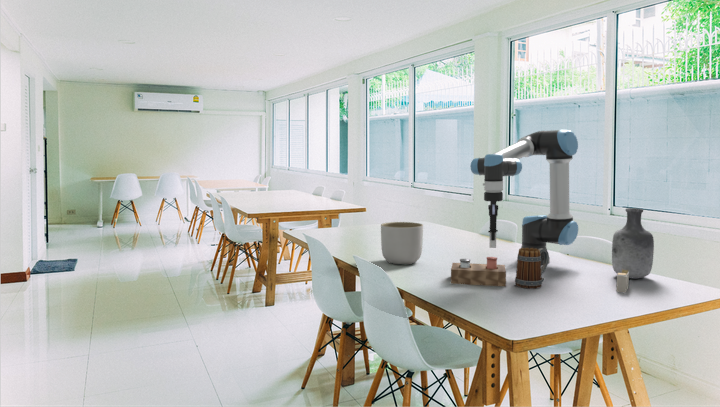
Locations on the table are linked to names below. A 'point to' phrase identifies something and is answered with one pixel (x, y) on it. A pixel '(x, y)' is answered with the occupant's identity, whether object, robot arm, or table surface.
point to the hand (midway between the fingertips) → (492, 247)
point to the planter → (401, 242)
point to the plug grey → (464, 263)
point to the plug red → (491, 262)
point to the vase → (633, 247)
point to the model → (622, 281)
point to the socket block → (478, 275)
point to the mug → (530, 268)
